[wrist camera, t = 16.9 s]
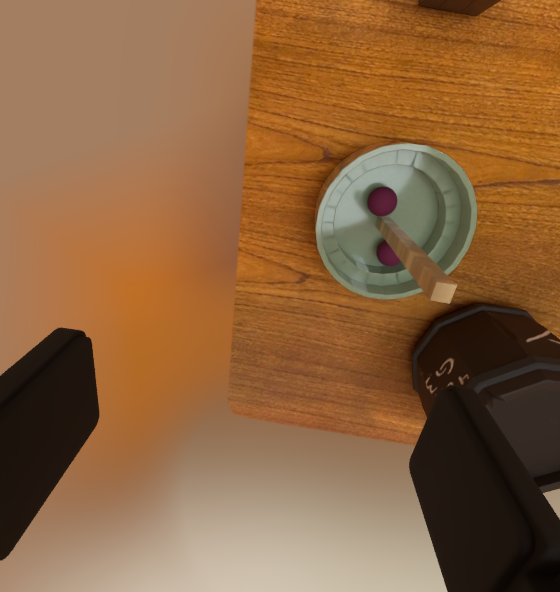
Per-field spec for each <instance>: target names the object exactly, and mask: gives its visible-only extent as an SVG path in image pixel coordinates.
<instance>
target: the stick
mask: <svg viewBox="0 0 560 592" xmlns="http://www.w3.org/2000/svg"><path fill="white" fill-rule="evenodd" d="M376 228H377V229H378V231H379V232H380V234H381V235H382V236H383V238H384V239H385V240H386V242H387V243H388V244H389V246H390V247H391V248H392V250H393V251H394V252H395V254H396V255H397V257H398V258H399V259H400V261H401V262H402V263H403V265H404V266H405V267H406V269H407V270H408V271H409V273H410V274H411V275H412V277H413V278H414V280H415V281H416V282H417V284H418V285H419V286H420V288H421V289H422V290H423V292H424V293H425V294H426V296H427V297H428V298H429V300H431V301H437V302H443V303H449V304H450V302H451V299H452V297H453V294H454V292H455V289H456V287H457V285H456V284H455V283H454V282H453V281H452V280H451V279H450V278H449V277H448V276H447V275H446V274H445V273H444V271H443V270H442V269H441V268H440V267H439V266H438V265H437V264H436V263H435V262H434V261H433V260H432V259H431V258H430V257H429V256H428V255H427V254H426V253H425V252H424V251H423V250H422V249H421V248H420V247H419V246H418V245H417V244H416V243H415V242H414V241H413V240H412V239H411V238H410V237H409V236H408V235H407V234H406V233H405V232H404V231H403V230H402V229H401V228H400V227H399V226H398V225H397V224H396V223H395V222H394V221H393V220H392V219H391V218H390V217H386V216H382V217H380V216H378V219H377V223H376Z"/></svg>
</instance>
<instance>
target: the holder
mask: <svg viewBox="0 0 560 592" xmlns="http://www.w3.org/2000/svg"><path fill="white" fill-rule="evenodd" d="M499 1H501V0H420V1H419V6H424V7H429V8H435V9H440V10H446V11H451V12H457V13H458V12H459V13H462V14H468V15H473V16H478V15H479V14H481V13H482V12H484V11H485V10H487V9H488V8H490V7H491V6H493V5H494V4H496V3H498V2H499Z"/></svg>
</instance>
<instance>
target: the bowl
mask: <svg viewBox="0 0 560 592" xmlns="http://www.w3.org/2000/svg"><path fill="white" fill-rule="evenodd" d="M383 186H384V187H389V188H391V189H392V190H393V191H394V192H395V193H396V195H397V206H396V208H395V210H394V211H393V212H392V213H391V214H389V215H387V216H386V217H390V218H391V219H392V220H393V221H394V222H395V223H396V224H397V225H398V226H399V227H400V228H401V229H402V230H403V231H404V232H405V233H406V234H407V235H408V236H409V237H410V238H411V239H412V240H413V241H414V242H415V243H416V244H417V245H418V246H419V247H420V248H421V249H422V250H423V251H424V252H425V253H426V254H427V255H428V256H429V257H430V258H431V259H432V260H433V261H434V262H435V263H436V264H437V265H438V266H439V267H440V268H441V269H442V270H443V271H444V273H445V274H446V275H448V274H449V273H450V272H451V271H453V270H454V269H455V268H456V266H457V265H458V264H459V262H460V261H461V259H462V258H463V256H464V255H465V253H466V252H467V250H468V248H469V246H470V243H471V240H472V238H473V235H474V232H475V229H476V219H477V203H476V198H475V193H474V188H473V186H472V184H471V182H470V181H469V179H468V177H467V175H466V173H465V172H464V170H463V169H462V168H461V167H460V166H459V165H458V164H457V163H456V162H455V161H454V160H453V159H452V158H451V157H449V156H448V155H447V154H445V153H442V152H440V151H438V150H436V149H434V148H432V147H430V146H426V145H419V144H411V143H404V142H396V141H390V142H383V143H377V144H372V145H369V146H367V147H365V148H363V149H360V150H358V151H356V152H354V153H352V154H351V155H350V156H348V157H347V158H346V159H344V160H343V161H342V162H341V163H339V164H338V166H336V167H335V169H334V170H333V171H332V172H331V174H330V175H329V176H328V178H327V179H326V180H325V182H324V184H323V186H322V188H321V191H320V193H319V195H318V197H317V201H316V207H315V213H314V224H315V234H316V242H317V248H318V251H319V253H320V256H321V259H322V261H323V264H324V266H325V267H326V268H327V270H328V271H329V272H330V273H331V275H332V276H333V277H334V279H335V280H336V281H338V282H339V283H340V284H342V285H343V286H344V287H346V288H347V289H348V290H350V291H352V292H355V293H357V294H360V295H362V296H365V297H369V298H376V299H383V300H388V299H398V298H406V297H409V296H412V295H415V294H418V293H421V292H423V290H422V289H421V288H420V286H419V285H418V284H417V282H416V281H415V280H414V278H413V277H412V275H411V274H410V273H409V271H408V270H407V269H406V267H405V266H404V265H403V263H402V262H400V263H399V264H398V265H395V266H385V265H383V264H382V263H380V261H379V260H378V258H377V254H376V253H377V248H378V246H379V245H380V243H382V242H383V241H384V240H385V239H384V238H383V236H382V235H381V234H380V232H379V231H378V229H377V228H376V223H377V219H378V216H376V215H374V214H373V213H371V212H370V210H369V208H368V205H367V200H368V197H369V195H370V193H371V192H372V191H373V190H374V189H376V188H378V187H383Z"/></svg>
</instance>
